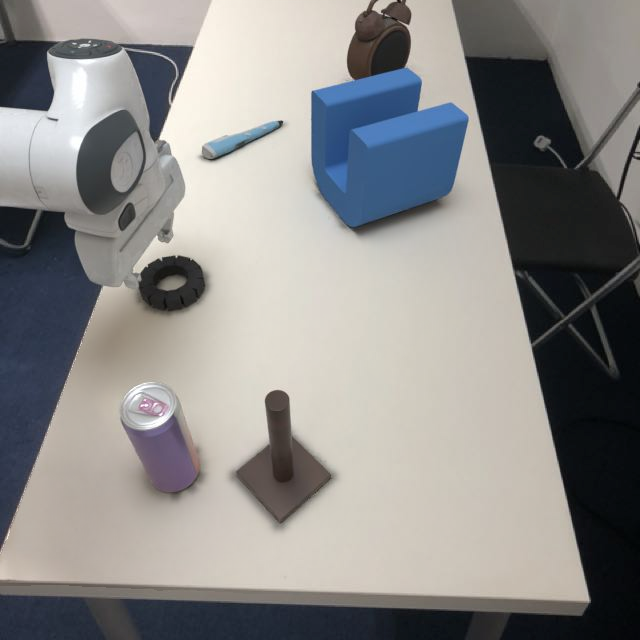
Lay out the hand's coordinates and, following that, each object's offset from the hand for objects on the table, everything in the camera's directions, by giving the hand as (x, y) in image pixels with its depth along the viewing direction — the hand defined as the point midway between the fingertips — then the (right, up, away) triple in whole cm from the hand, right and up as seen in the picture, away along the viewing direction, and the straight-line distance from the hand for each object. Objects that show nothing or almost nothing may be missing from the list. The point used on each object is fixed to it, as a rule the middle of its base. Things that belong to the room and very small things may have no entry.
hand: (151, 261), depth 79 cm
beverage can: (+6, -26, -10) cm, 29 cm away
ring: (+1, -3, +9) cm, 9 cm away
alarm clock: (+36, +43, +49) cm, 75 cm away
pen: (+8, +27, +35) cm, 45 cm away
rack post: (+19, -27, -11) cm, 35 cm away
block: (+34, +14, +24) cm, 44 cm away
